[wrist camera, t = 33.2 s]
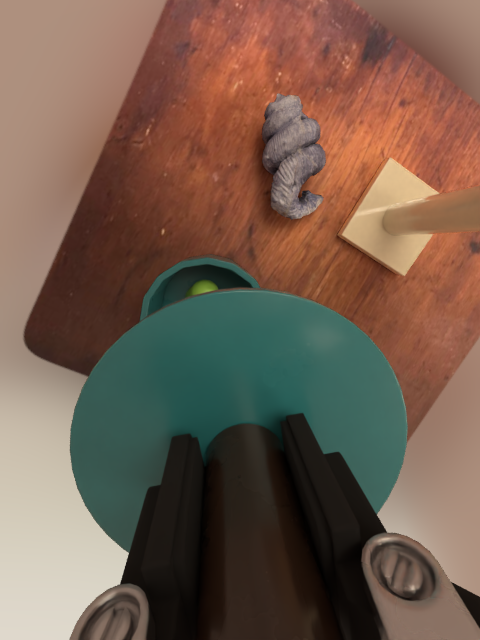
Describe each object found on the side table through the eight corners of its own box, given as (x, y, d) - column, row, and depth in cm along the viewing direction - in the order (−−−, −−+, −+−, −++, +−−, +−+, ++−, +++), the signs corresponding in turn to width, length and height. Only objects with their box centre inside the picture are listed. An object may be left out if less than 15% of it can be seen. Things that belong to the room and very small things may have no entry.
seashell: (300, 219, 31) (272, 113, 28) (348, 202, 27) (320, 76, 24) (265, 230, 28) (231, 111, 25) (313, 212, 23) (278, 69, 21)
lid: (39, 316, 9) (-343, 475, 3) (385, 257, 10) (710, 287, 3) (129, 577, 12) (31, 947, 6) (394, 526, 13) (578, 822, 6)
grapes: (182, 280, 30) (176, 286, 25) (228, 271, 30) (230, 276, 25) (195, 338, 31) (192, 354, 27) (239, 330, 31) (242, 344, 27)
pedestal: (336, 235, 30) (498, 224, 13) (383, 160, 29) (637, 31, 11) (397, 275, 32) (617, 314, 14) (445, 205, 30) (754, 153, 13)
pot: (148, 263, 30) (125, 270, 22) (250, 247, 30) (261, 248, 23) (170, 359, 32) (156, 393, 25) (264, 343, 32) (277, 372, 25)
